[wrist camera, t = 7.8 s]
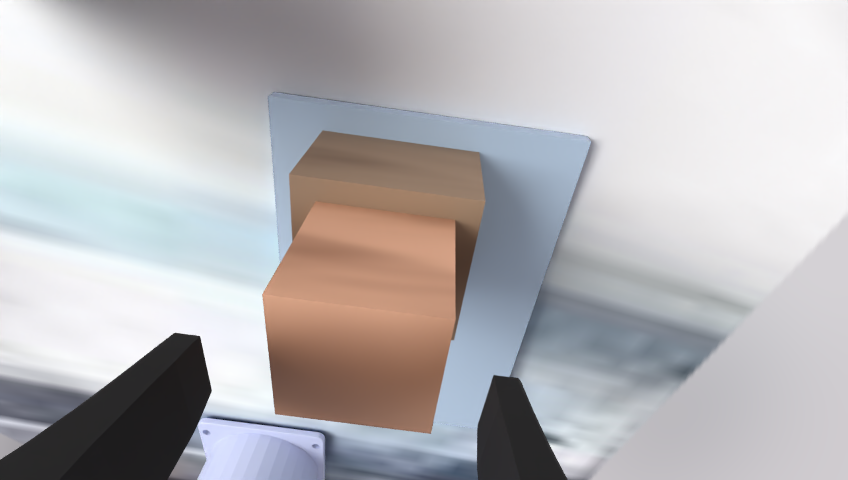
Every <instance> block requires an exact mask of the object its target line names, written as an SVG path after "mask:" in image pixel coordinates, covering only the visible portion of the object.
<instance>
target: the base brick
mask: <svg viewBox="0 0 848 480" xmlns="http://www.w3.org/2000/svg"><path fill="white" fill-rule="evenodd" d="M289 185H290V205H291V225H292V242H293V240H294V238H295V236H296V235H297V233H298V231H299V229H300V228H301V226H302V224H303V222H304V221H305V219H306V217H307V215H308V214H309V212H310V210H311V208H312V207H313V205H314V203H315V201H318V202H325V203H333V204H340V205H348V206H355V207H362V208H370V209H377V210H385V211H392V212H400V213H407V214H415V215H422V216H430V217H437V218H444V219H452V220H455V312H456V320H455V324H454V329H453V333H452V338H451V340H454V338H455V334H456V329H457V325H458V320H459V316H460V312H461V307H462V303H463V298H464V294H465V290H466V285H467V281H468V276H469V272H470V268H471V263H472V259H473V254H474V250H475V246H476V241H477V237H478V232H479V228H480V223H481V219H482V215H483V210H484V206H485V193H484V185H483V177H482V170H481V162H480V154H479V152H474V151H467V150H459V149H452V148H445V147H438V146H431V145H424V144H417V143H409V142H402V141H395V140H388V139H381V138H374V137H367V136H359V135H352V134H345V133H338V132H331V131H324V130H322V132H321V133H320V134H319V136H318V137H317V138H316V140H315V141H314V142H313V143H312V145H311V146H310V147H309V149H308V150H307V151H306V153H305V154H304V155H303V156H302V158H301V159H300V160H299V162H298V163H297V164H296V166H295V167H294V168H293V170H292V171H291V172H290V173H289Z"/></svg>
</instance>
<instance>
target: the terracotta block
mask: <svg viewBox="0 0 848 480" xmlns="http://www.w3.org/2000/svg"><path fill="white" fill-rule="evenodd" d="M262 296H263V305H264V314H265V323H266V333H267V342H268V351H269V361H270V370H271V379H272V389H273V398H274V407H275V414H279V415H287V416H295V417H303V418H310V419H318V420H326V421H334V422H342V423H350V424H358V425H366V426H374V427H382V428H390V429H398V430H406V431H413V432H421V433H429V434H431V430H432V426H433V421H434V416H435V412H436V407H437V403H438V398H439V393H440V389H441V384H442V380H443V375H444V370H445V366H446V361H447V357H448V352H449V347H450V343H451V338H452V333H453V329H454V324H455V320H456V312H455V220H452V219H444V218H437V217H430V216H422V215H415V214H407V213H400V212H392V211H385V210H377V209H370V208H362V207H355V206H348V205H340V204H333V203H325V202H318V201H315V203H314V205H313V207H312V208H311V210H310V212H309V214H308V215H307V217H306V219H305V221H304V222H303V224H302V226H301V228H300V229H299V231H298V233H297V235H296V236H295V238H294V240H293V242H292V243H291V245H290V247H289V249H288V250H287V252H286V254H285V256H284V257H283V259H282V261H281V263H280V264H279V266H278V268H277V270H276V271H275V273H274V275H273V277H272V278H271V280H270V282H269V284H268V285H267V287H266V289H265V291H264V292H263V294H262Z"/></svg>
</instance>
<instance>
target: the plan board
mask: <svg viewBox="0 0 848 480" xmlns="http://www.w3.org/2000/svg"><path fill="white" fill-rule="evenodd" d="M268 103H269V117H270V132H271V146H272V160H273V174H274V188H275V202H276V216H277V230H278V244H279V258H280V263H281V261H282V259H283V257H284V256H285V254H286V252H287V250H288V249H289V247H290V245H291V243H292V225H291V205H290V185H289V173H290V172H291V171H292V170H293V168H294V167H295V166H296V164H297V163H298V162H299V160H300V159H301V158H302V156H303V155H304V154H305V153H306V151H307V150H308V149H309V147H310V146H311V145H312V143H313V142H314V141H315V140H316V138H317V137H318V136H319V134H320V133H321V132H322V130H324V131H331V132H338V133H345V134H352V135H359V136H367V137H374V138H381V139H388V140H395V141H402V142H409V143H417V144H424V145H431V146H438V147H445V148H452V149H459V150H467V151H474V152H479V154H480V162H481V170H482V177H483V185H484V193H485V206H484V210H483V215H482V219H481V223H480V228H479V232H478V237H477V241H476V246H475V250H474V254H473V259H472V263H471V268H470V272H469V276H468V281H467V285H466V290H465V294H464V298H463V303H462V307H461V312H460V316H459V320H458V325H457V329H456V334H455V338H454V340H451V343H450V347H449V352H448V357H447V361H446V366H445V370H444V375H443V380H442V384H441V389H440V393H439V398H438V403H437V407H436V412H435V416H434V421H433V423H438V424H446V425H454V426H461V427H469V428H477V427H478V422H479V419H480V416H481V413H482V410H483V407H484V403H485V400H486V397H487V394H488V391H489V388H490V385H491V381H492V378H493V375H498V376H505V377H510V374H511V371H512V369H513V366H514V363H515V360H516V357H517V354H518V351H519V348H520V346H521V343H522V340H523V337H524V334H525V331H526V328H527V325H528V323H529V320H530V317H531V314H532V311H533V308H534V305H535V302H536V299H537V297H538V294H539V291H540V288H541V285H542V282H543V279H544V276H545V274H546V271H547V268H548V265H549V262H550V259H551V256H552V253H553V251H554V248H555V245H556V242H557V239H558V236H559V233H560V230H561V228H562V225H563V222H564V219H565V216H566V213H567V210H568V207H569V205H570V202H571V199H572V196H573V193H574V190H575V187H576V184H577V182H578V179H579V176H580V173H581V170H582V167H583V164H584V161H585V159H586V156H587V153H588V150H589V147H590V144H591V141H590V139H589V138H588V137H587V136H581V135H574V134H567V133H560V132H553V131H546V130H539V129H532V128H525V127H518V126H511V125H504V124H496V123H489V122H482V121H475V120H468V119H461V118H454V117H447V116H440V115H433V114H426V113H419V112H412V111H404V110H397V109H390V108H383V107H376V106H369V105H362V104H355V103H348V102H341V101H334V100H327V99H320V98H313V97H305V96H298V95H291V94H284V93H277V92H273V93H272V94H270V95H269V96H268Z"/></svg>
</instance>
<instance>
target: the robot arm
mask: <svg viewBox="0 0 848 480" xmlns="http://www.w3.org/2000/svg"><path fill="white" fill-rule="evenodd" d="M211 391H212V390H211V385H210V380H209V376H208V371H207V367H206V362H205V357H204V353H203V348H202V343H201V339H200V336H195V335H187V334H180V333H174V334H173V335H171V336H170V337H169V338H167V339H166V340H165V341H163V342H162V343H161V344H159V345H158V346H157V347H155V348H154V349H153V350H152V351H150V352H149V353H148V354H146V355H145V356H144V357H143V358H141V359H140V360H139V361H137V362H136V363H135V364H134V365H132V366H131V367H130V368H128V369H127V370H126V371H125V372H123V373H122V374H121V375H119V376H118V377H117V378H115V379H114V380H113V381H112V382H110V383H109V384H108V385H106V386H105V387H104V388H102V389H101V390H100V391H98V392H97V393H96V394H94V395H93V396H91V397H90V398H89V399H87V400H86V401H85V402H83V403H82V404H81V405H79V406H78V407H77V408H75V409H74V410H73V411H71V412H70V413H68V414H67V415H65V416H64V417H63V418H61V419H60V420H58V421H57V422H55V423H54V424H53V425H51V426H50V427H48V428H47V429H45V430H44V431H43V432H41V433H40V434H38V435H37V436H35V437H34V438H33V439H31V440H30V441H28V442H27V443H25V444H24V445H22V446H21V447H19V448H18V449H16V450H15V451H13V452H12V453H10V454H8V455H7V456H5V457H4V458H2V459H1V460H0V480H167V479H168V477H169V476H170V474H171V472H172V470H173V469H174V467H175V465H176V463H177V462H178V460H179V458H180V456H181V455H182V453H183V451H184V449H185V448H186V446H187V444H188V442H189V440H190V439H191V437H192V435H193V433H194V431H195V429H196V427H197V425H198V428H199V432H200V436H201V440H202V443H203V447H204V451H205V455H206V459H207V461H206V463H205V465H204V467H203V469H202V471H201V473H200V475H199V477H198V479H197V480H325V436H324V435H323V434H322V433H319V432H313V431H305V430H297V429H290V428H282V427H274V426H266V425H258V424H250V423H243V422H235V421H227V420H219V419H211V418H203V419H201V420H200V418H201V416H202V413H203V411H204V408H205V406H206V404H207V401H208V399H209V396H210V394H211ZM199 420H200V422H199ZM198 422H199V424H198ZM477 471H478V480H567V478H566V476H565V474H564V472H563V470H562V468H561V466H560V464H559V462H558V461H557V459H556V457H555V455H554V453H553V451H552V449H551V447H550V445H549V443H548V441H547V439H546V437H545V435H544V433H543V431H542V428H541V426H540V424H539V422H538V420H537V418H536V415H535V413H534V411H533V409H532V407H531V404H530V402H529V400H528V397H527V395H526V392H525V390H524V388H523V385H522V383H521V381H520V380H519V379H518V378H513V377H505V376H498V375H493V378H492V381H491V385H490V388H489V391H488V394H487V397H486V400H485V403H484V407H483V410H482V413H481V416H480V419H479V422H478V427H477Z"/></svg>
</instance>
